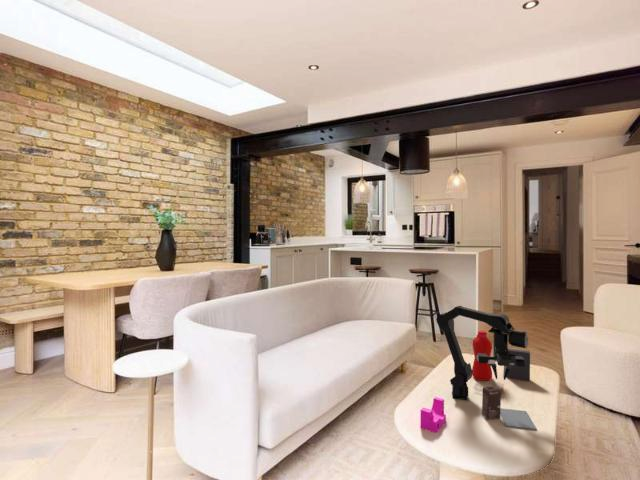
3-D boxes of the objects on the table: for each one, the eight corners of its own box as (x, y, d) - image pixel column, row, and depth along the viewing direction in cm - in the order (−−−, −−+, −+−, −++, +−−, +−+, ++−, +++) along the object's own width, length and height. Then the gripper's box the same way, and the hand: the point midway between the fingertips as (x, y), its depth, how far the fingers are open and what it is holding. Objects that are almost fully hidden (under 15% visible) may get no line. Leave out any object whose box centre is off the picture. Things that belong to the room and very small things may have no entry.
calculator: (529, 379, 196) (529, 350, 196) (529, 382, 192) (530, 353, 192) (506, 375, 201) (506, 347, 201) (506, 378, 197) (506, 350, 197)
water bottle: (468, 373, 204) (468, 328, 203) (490, 375, 201) (490, 329, 200) (470, 380, 195) (470, 332, 194) (493, 382, 192) (493, 334, 191)
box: (488, 420, 153) (488, 391, 153) (481, 415, 157) (481, 386, 157) (501, 418, 154) (501, 390, 154) (494, 413, 159) (494, 385, 158)
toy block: (435, 433, 143) (435, 414, 143) (420, 428, 147) (420, 409, 147) (449, 418, 155) (450, 400, 155) (435, 414, 159) (435, 396, 159)
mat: (505, 426, 148) (505, 425, 148) (498, 409, 162) (498, 408, 162) (536, 430, 145) (536, 428, 145) (526, 412, 160) (526, 411, 160)
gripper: (480, 347, 157) (480, 384, 158) (529, 350, 152) (529, 388, 153) (476, 340, 168) (476, 374, 168) (522, 343, 163) (522, 378, 163)
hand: (500, 379), depth 163 cm, fingers open, 3 cm apart
